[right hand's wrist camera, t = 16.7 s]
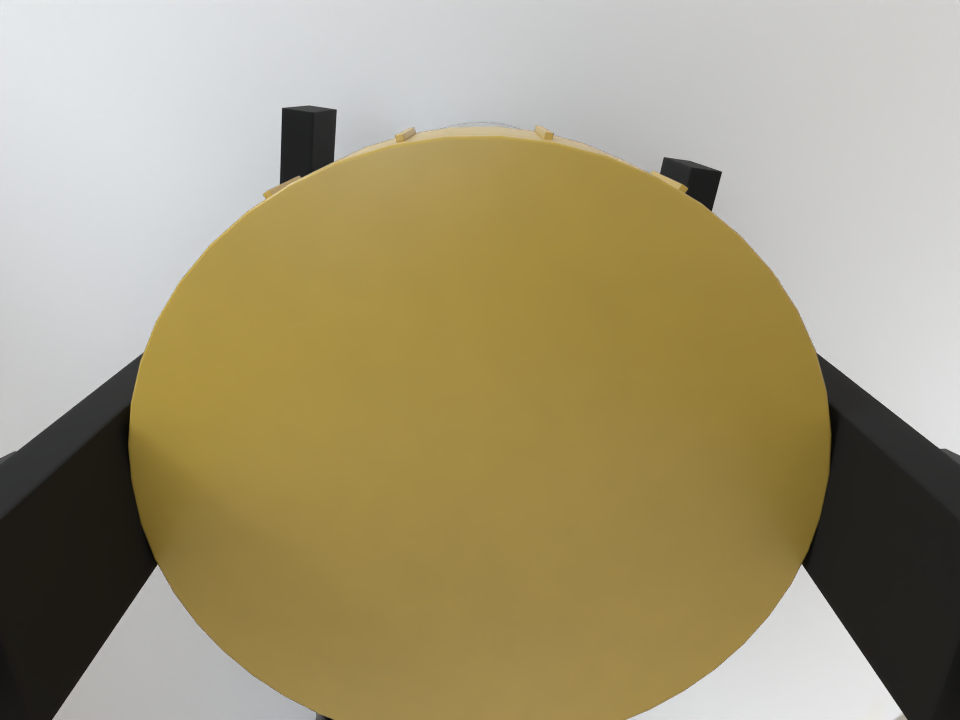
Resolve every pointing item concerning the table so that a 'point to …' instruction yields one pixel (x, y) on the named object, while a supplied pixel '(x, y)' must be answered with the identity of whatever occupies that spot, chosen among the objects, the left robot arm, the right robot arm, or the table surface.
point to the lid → (479, 434)
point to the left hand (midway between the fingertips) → (503, 137)
